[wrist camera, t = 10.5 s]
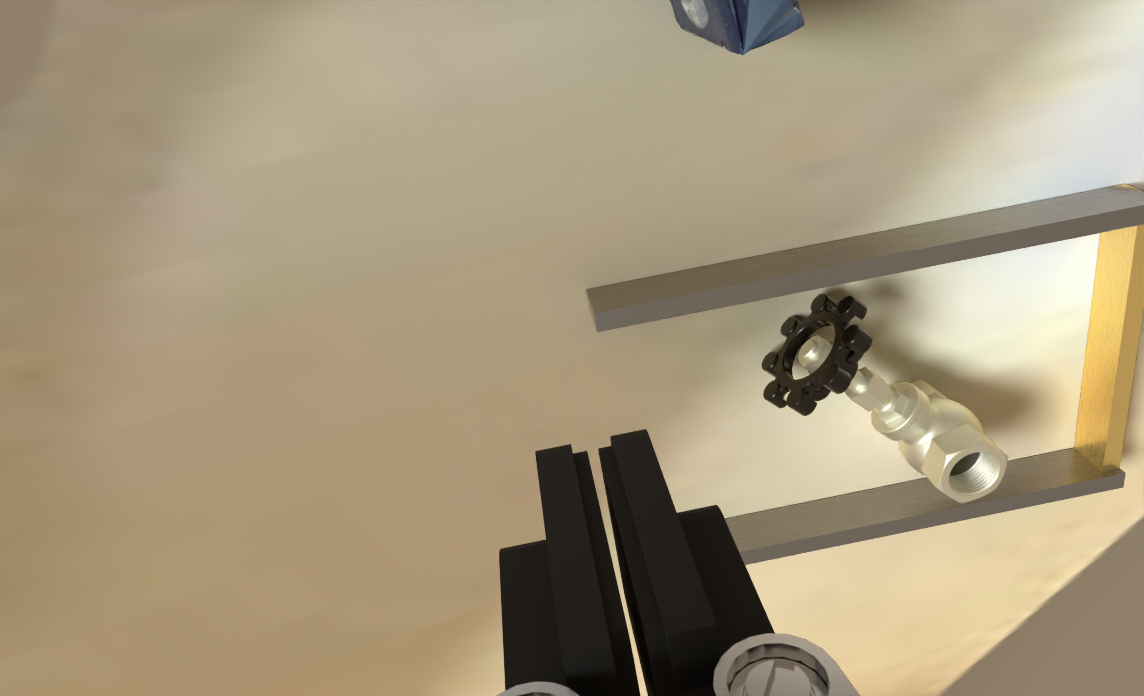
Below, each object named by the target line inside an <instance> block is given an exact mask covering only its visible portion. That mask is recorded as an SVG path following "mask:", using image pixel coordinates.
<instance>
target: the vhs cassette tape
mask: <svg viewBox="0 0 1144 696" xmlns="http://www.w3.org/2000/svg"><path fill="white" fill-rule="evenodd" d="M670 1H671V4H672V7H673V9H674V14H675V18H676V20H677V22H678V24H679V25H680V27H681V28H682V29H684V30H685V31H687V32H689V33H692V34H694V36H699V37H701V38H704V39H705V40H707V41H709V42H712V43H713V44H715V45H718V46H719V47H723V46H725V49H727V50H728V51H730V52H733V53H737V54H741V55H744V54H745V53H747V52H748V51H750V50H752V49H755V48H758V47H761V46H763V45H766V44H768V43H770V42H772V41H774V40H777V39H779V38H781V37H784V36H786V35H788V34H790V33H791V32H793V31H795V30H797V29H799V28H800V27H802V26H804V21H803V18H802V14H801V11H800V9H799V5H798V1H797V0H670Z"/></svg>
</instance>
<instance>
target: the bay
mask: <svg viewBox="0 0 1144 696" xmlns="http://www.w3.org/2000/svg"><path fill="white" fill-rule="evenodd" d="M1097 233H1100V241H1099V249H1098V257H1097V265H1096V273H1095V282H1094V290H1093V298H1092V306H1091V314H1090V323H1089V331H1088V339H1087V347H1086V355H1085V364H1084V372H1083V380H1082V388H1081V396H1080V404H1079V413H1078V421H1077V429H1076V437H1075V445H1074V448H1071V449H1066V450H1061V451H1056V452H1051V453H1046V454H1041V455H1036V456H1031V457H1027V458H1022V459H1017V460H1012V461H1007V466H1006V469H1005V473H1004V475H1003V478H1002V480H1001V482H1000V484H999V485H998V487H997V488H996V489H995V490H993V491H992V492H990V493H989V494H987V495H985V496H983V497H981V498H978V499H975V500H972V501H969V502H965V503H959V502H957V501H955V500H954V499H952V498H950V497H949V496H947V495H946V494H944V493H943V492H941V491H940V490H939V489H937V488H936V487H935V486H934V485H933V484H932V482H931V481H930V480H929V479H928V478H923V479H918V480H914V481H909V482H904V483H899V484H894V485H889V486H884V487H879V488H874V489H869V490H864V491H860V492H855V493H850V494H845V495H840V496H835V497H830V498H825V499H820V500H815V501H810V502H805V503H801V504H796V505H791V506H786V507H781V508H776V509H771V510H766V511H761V512H756V513H751V514H747V515H742V516H737V517H732V518H727V519H725V521H726V523H727V525H728V528H729V530H730V532H731V535H732V537H733V539H734V541H735V544H736V546H737V548H738V551H739V553H740V555H741V557H742V560H743V562H744V564H745V565H747V564H752V563H757V562H762V561H767V560H772V559H776V558H781V557H786V556H791V555H796V554H801V553H806V552H811V551H815V550H820V549H825V548H830V547H835V546H840V545H845V544H850V543H854V542H859V541H864V540H869V539H874V538H879V537H884V536H889V535H894V534H898V533H903V532H908V531H913V530H918V529H923V528H928V527H933V526H937V525H942V524H947V523H952V522H957V521H962V520H967V519H972V518H976V517H981V516H986V515H991V514H996V513H1001V512H1006V511H1011V510H1015V509H1020V508H1025V507H1030V506H1035V505H1040V504H1045V503H1050V502H1054V501H1059V500H1064V499H1069V498H1074V497H1079V496H1084V495H1089V494H1093V493H1098V492H1103V491H1108V490H1113V489H1118V488H1123V486H1124V479H1125V472H1124V471H1122V470H1121V469H1120V468H1119V467H1120V461H1121V454H1122V448H1123V441H1124V435H1125V428H1126V422H1127V415H1128V408H1129V402H1130V395H1131V389H1132V382H1133V376H1134V369H1135V363H1136V356H1137V350H1138V343H1139V336H1140V330H1141V323H1142V317H1143V310H1144V191H1142V190H1140V189H1137V188H1134V187H1132V186H1129V185H1126V184H1122V185H1117V186H1112V187H1107V188H1102V189H1096V190H1091V191H1086V192H1081V193H1076V194H1071V195H1066V196H1061V197H1056V198H1051V199H1045V200H1040V201H1035V202H1030V203H1025V204H1020V205H1015V206H1010V207H1005V208H1000V209H994V210H989V211H984V212H979V213H974V214H969V215H964V216H959V217H954V218H949V219H943V220H938V221H933V222H928V223H923V224H918V225H913V226H908V227H903V228H898V229H893V230H887V231H882V232H877V233H872V234H867V235H862V236H857V237H852V238H847V239H842V240H836V241H831V242H826V243H821V244H816V245H811V246H806V247H801V248H796V249H791V250H785V251H780V252H775V253H770V254H765V255H760V256H755V257H750V258H745V259H740V260H734V261H729V262H724V263H719V264H714V265H709V266H704V267H699V268H694V269H689V270H683V271H678V272H673V273H668V274H663V275H658V276H653V277H648V278H643V279H638V280H632V281H627V282H622V283H617V284H612V285H607V286H602V287H597V288H592V289H587V290H586V292H587V298H588V303H589V308H590V312H591V315H592V318H593V321H594V324H595V327H596V330H597V332H601V331H606V330H611V329H616V328H621V327H626V326H631V325H636V324H641V323H646V322H651V321H656V320H661V319H667V318H672V317H677V316H682V315H687V314H692V313H697V312H702V311H707V310H712V309H717V308H722V307H727V306H732V305H737V304H743V303H748V302H753V301H758V300H763V299H768V298H773V297H778V296H783V295H788V294H793V293H798V292H803V291H808V290H813V289H818V288H824V287H829V286H834V285H839V284H844V283H849V282H854V281H859V280H864V279H869V278H874V277H879V276H884V275H889V274H894V273H900V272H905V271H910V270H915V269H920V268H925V267H930V266H935V265H940V264H945V263H950V262H955V261H960V260H965V259H970V258H976V257H981V256H986V255H991V254H996V253H1001V252H1006V251H1011V250H1016V249H1021V248H1026V247H1031V246H1036V245H1041V244H1046V243H1051V242H1057V241H1062V240H1067V239H1072V238H1077V237H1082V236H1087V235H1092V234H1097Z"/></svg>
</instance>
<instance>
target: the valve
mask: <svg viewBox="0 0 1144 696" xmlns="http://www.w3.org/2000/svg"><path fill="white" fill-rule="evenodd" d="M811 311H812V313H811V315H810V316H809V317H808V318H807V319H806V320H804V321H803V322H801V321H800V320H799V319H797V318H796V317H790V318H788V319H787V320H786V321H785V322H784V323H783V325H782V327H781V334H782V335H783V336H785V337H786V338H787V339H786V341H785V343H784V345H783V347H782V349H781V350H780V351H779V352H770V353H768V354H767V355H766V356H765V358H764V359H763V361H762V369H763V370H764V371H766V372H767V373H769V374H771V375H772V376H774V377H775V378H776V379H775V380H774V381H772V382H770V383H769V384H768V385H767V386H766V388H765V390H764V393H763V396H764V399H765V400H767V401H768V402H770V403H772V404H773V405H775V406H776V407H778V408H783V407H785V406H786V405H788V406H789V407H790V408H791V409H793V410H795V411H796V412H798V413H799V414H801V415H803V416H807V415H809V414H811V413H812V412H813V411H814V409H815V407H816V405H817V403H816V402H815V401H820V400H822V399H824V398H826V397H827V396H828V395H829V393H830V392H831V391H833V392H834V393H836V394H840V393H843V392H845V393H846V394H847V396H848V397H849V398H850V399H851V400H852V401H854V402H855V403H857V404H858V405H860V406H861V407H863V408H864V409H866V410H867V411H871V410H872V413H871V421H872V425H873V427H874V428H875V429H876V430H877V431H878V432H880V433H881V434H883V435H884V436H886V437H887V438H889V439H891V440H895V441H898V445H899V448H900V451H901V453H902V455H903V457H904V458H905V460H906V461H907V462H908V463H909V464H910V466H912V467H913V468H914V469H915V470H916V471H918V472H920V473H921V474H923V475H925V476H926V477H927V478H928V479H929V480H930V481H931V482H932V484H933V485H934V486H935V487H936V488H937V489H939V490H940V491H941V492H943V493H944V494H946V495H947V496H949V497H950V498H952V499H954V500H955V501H957V502H959V503H965V502H969V501H972V500H975V499H978V498H981V497H983V496H985V495H987V494H989V493H990V492H992V491H993V490H995V489H996V488H997V487H998V485H999V484H1000V482H1001V480H1002V478H1003V475H1004V473H1005V469H1006V466H1007V461H1008V456H1007V455H1006V454H1005V453H1004V452H1003V451H1002V450H1001V449H1000V448H999V447H998V446H997V445H996V444H995V443H994V442H993V441H992V440H990V439H989V438H987V437H986V436H985V435H984V431H983V428H982V426H981V424H980V422H979V420H978V419H977V418H976V416H975V415H974V414H973V413H972V412H971V411H970V410H969V409H967V408H966V407H965V406H963V405H962V404H960V403H958V402H955V401H953V400H949V399H948V398H947V397H946V396H945V395H943V394H942V393H941V392H939V391H938V390H936V389H935V388H934V387H932V386H931V385H929V384H928V383H927V382H925V381H924V380H922V379H920V380H917V381H915V382H913V383H908V382H899V383H896V384H893V385H891V386H889V385H888V383H887V382H886V381H885V380H884V379H883V378H881V377H880V376H878V375H877V374H876V373H874V372H873V371H871V370H870V369H868V368H867V367H864V368H861V369H859V370H858V361H859V360H860V359H861V358H862V356H863V354H864V353H865V352H866V351H867V350H868V349H869V348H870V347H871V345H872V342H873V338H872V336H871V335H870V334H869V333H868V332H866V331H865V330H863V329H862V328H861V327H859V326H858V325H851V326H850V324H849V322H850V320H851V319H852V318H853V317H855V316H857V317H858V318H860V319H861V320H863V318H864V317H865V315H866V313H867V307H866V306H865V305H864V304H863V303H861V302H860V301H858V300H857V299H856V298H854V297H853V296H846V297H844V298H843V299H841V300H840V302H839V303H838V302H836V301H835V300H834V299H832V298H831V297H829V296H828V295H827V294H820V295H818V296H817V297H816V298H815V299H814V300H813V302H812V304H811ZM825 326H834V329H835V339H834V342H828V341H826V340H825V339H823V338H822V337H820V336H819V335H817V336H815V337H810V335H811V334H812V333H814V332H815V331H817V330H818V329H820V328H822V327H825ZM801 345H803V346H802V348H801V350H800V352H799V355H798V361H799V362H800V363H801V365H802V366H803V367H804V368H806V369H807V370H808V372H809V374H810V375H809V376H807V377H805V378H802V379H798V380H794V379H793V376H792V365H793V361H794V358H795V355H796V353H797V351H798V350H799V348H800V347H801ZM787 392H790V393H789V395H788V397H787V401H786V400H785V399H784V396H785V394H786V393H787Z"/></svg>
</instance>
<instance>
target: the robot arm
mask: <svg viewBox="0 0 1144 696" xmlns="http://www.w3.org/2000/svg"><path fill="white" fill-rule="evenodd" d="M610 438H611V446H609V447H604V448H599V449H598V450H599V456H600V462H601V468H602V473H603V479H604V484H605V490H606V495H607V501H608V506H609V512H610V517H611V523H612V528H613V534H614V539H615V545H616V551H617V556H618V562H619V567H620V573H621V578H622V584H623V589H624V594H625V599H626V604H627V608H628V613H629V617H630V621H631V625H632V630H633V634H634V638H635V642H636V647H637V651H638V655H639V659H640V664H641V668H642V672H643V676H644V681H645V685H646V689H647V693H648V696H860V695H859V693H858V692H857V691H856V689H855V688H854V687H853V685H852V684H851V682H850V681H849V680H848V678H847V677H846V675H845V674H844V673H843V671H842V670H841V669H840V667H839V666H838V664H837V663H836V662H835V661H834V660H833V659H832V658H831V657H830V656H829V655H828V654H827V653H826V652H825V651H824V650H823V649H822V648H820V647H819V646H817V645H815V644H813V643H812V642H810V641H808V640H806V639H803V638H800V637H796V636H792V635H789V634H775V633H774V630H773V628H772V626H771V624H770V621H769V619H768V617H767V614H766V612H765V610H764V608H763V605H762V603H761V601H760V598H759V596H758V594H757V592H756V589H755V587H754V585H753V582H752V580H751V578H750V576H749V573H748V571H747V569H746V567H745V564H744V562H743V560H742V557H741V555H740V553H739V551H738V548H737V546H736V544H735V541H734V539H733V537H732V535H731V532H730V530H729V528H728V525H727V523H726V521H725V519H724V516H723V514H722V512H721V510H720V508H719V507H718V506H717V505H714V506H709V507H704V508H699V509H694V510H689V511H684V512H679V513H677V512H676V510H675V507H674V504H673V501H672V499H671V496H670V493H669V490H668V487H667V485H666V482H665V479H664V476H663V473H662V471H661V468H660V465H659V462H658V460H657V457H656V454H655V451H654V448H653V446H652V443H651V440H650V437H649V435H648V432H647V430H646V429H644V430H639V431H634V432H629V433H624V434H619V435H614V436H611V437H610ZM535 453H536V462H537V470H538V478H539V486H540V493H541V501H542V509H543V517H544V525H545V533H546V540H542V541H537V542H532V543H527V544H522V545H517V546H512V547H507V548H502V549H500V552H499V563H500V584H501V605H502V627H503V648H504V669H505V690H506V691H504V692H502V693H500V694H498V695H497V696H640V691H639V686H638V680H637V675H636V669H635V664H634V658H633V653H632V648H631V643H630V638H629V634H628V629H627V624H626V620H625V616H624V611H623V607H622V602H621V598H620V594H619V589H618V585H617V580H616V576H615V572H614V567H613V563H612V558H611V554H610V550H609V545H608V541H607V537H606V532H605V528H604V523H603V519H602V515H601V510H600V506H599V501H598V497H597V493H596V488H595V484H594V480H593V475H592V471H591V466H590V462H589V458H588V453H587V451H584V452H579V453H574V454H573V453H572V448H571V444H569V445H564V446H559V447H554V448H549V449H544V450H539V451H536V452H535Z"/></svg>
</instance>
